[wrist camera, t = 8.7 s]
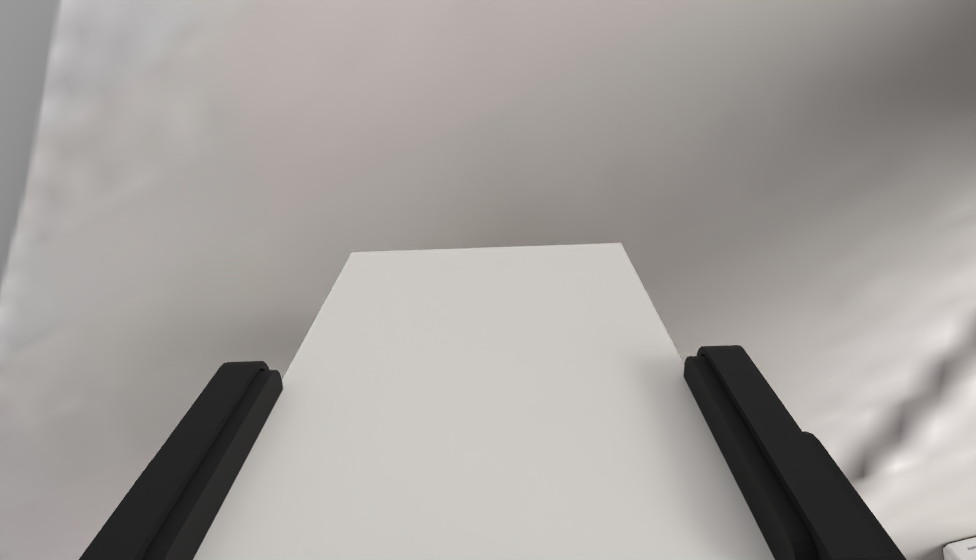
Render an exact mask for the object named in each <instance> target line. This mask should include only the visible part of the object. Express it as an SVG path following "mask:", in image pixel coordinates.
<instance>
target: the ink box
mask: <svg viewBox="0 0 976 560" xmlns="http://www.w3.org/2000/svg"><path fill="white" fill-rule="evenodd" d="M943 554H944V560H976V537H974V538H970V539H966V540H962V541H958V542H954V543H950V544H947V546H946V547H944V548H943Z"/></svg>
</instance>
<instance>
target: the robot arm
mask: <svg viewBox="0 0 976 560" xmlns="http://www.w3.org/2000/svg"><path fill="white" fill-rule="evenodd" d="M683 377H684V379H685V381H686V383H687V385H688V387H689V389H690V391H691V393H692V395H693V397H694V399H695V401H696V403H697V405H698V407H699V409H700V411H701V413H702V415H703V417H704V419H705V421H706V423H707V425H708V427H709V429H710V431H711V433H712V435H713V437H714V439H715V441H716V443H717V445H718V447H719V449H720V451H721V453H722V455H723V457H724V459H725V461H726V463H727V465H728V467H729V469H730V471H731V473H732V475H733V477H734V479H735V481H736V483H737V485H738V487H739V489H740V491H741V493H742V495H743V497H744V499H745V501H746V503H747V505H748V507H749V509H750V511H751V513H752V515H753V517H754V519H755V521H756V523H757V525H758V527H759V529H760V531H761V533H762V535H763V537H764V539H765V541H766V543H767V545H768V547H769V549H770V551H771V553H772V555H773V557H774V559H775V560H906V558H905V557H904V556H903V554H902V553H901V552H900V550H899V549H898V547H897V546H896V545H895V543H894V542H893V541H892V539H891V538H890V537H889V535H888V534H887V532H886V531H885V530H884V528H883V527H882V526H881V524H880V523H879V521H878V520H877V519H876V517H875V516H874V515H873V513H872V512H871V511H870V509H869V508H868V506H867V505H866V504H865V502H864V501H863V500H862V498H861V497H860V496H859V494H858V493H857V491H856V490H855V489H854V487H853V486H852V485H851V483H850V482H849V481H848V479H847V478H846V476H845V475H844V474H843V472H842V471H841V470H840V468H839V467H838V466H837V464H836V463H835V461H834V460H833V459H832V457H831V456H830V455H829V453H828V452H827V451H826V449H825V448H824V446H823V445H822V444H821V442H820V441H819V440H818V439H817V438H816V437H815V436H814V435H813V434H811V433H809V432H802V430H801V429H800V428H799V426H798V425H797V423H796V422H795V421H794V419H793V418H792V416H791V415H790V414H789V412H788V411H787V409H786V408H785V406H784V405H783V404H782V402H781V401H780V399H779V398H778V397H777V395H776V394H775V392H774V391H773V390H772V388H771V387H770V385H769V384H768V383H767V381H766V380H765V378H764V377H763V375H762V374H761V373H760V371H759V370H758V368H757V367H756V366H755V364H754V363H753V361H752V360H751V359H750V357H749V356H748V354H747V353H746V351H745V350H744V349H743V348H742V347H741V346H738V345H733V346H703V347H700V348H699V350H698V353H697V356H691V357H687V358H686V361H685V365H684V375H683ZM282 390H283V384H282V379H281V376H280V374H279V372H278V371H277V370H269V368H268V366H267V364H266V363H265V362H263V361H252V362H227V363H224V364H223V365H222V366H221V367H220V368H219V369H218V371H217V372H216V374H215V375H214V376H213V378H212V379H211V380H210V382H209V383H208V384H207V386H206V387H205V389H204V390H203V391H202V393H201V394H200V395H199V397H198V398H197V400H196V401H195V402H194V404H193V405H192V406H191V408H190V409H189V410H188V412H187V413H186V415H185V416H184V417H183V419H182V420H181V421H180V423H179V424H178V426H177V427H176V428H175V430H174V431H173V432H172V434H171V435H170V437H169V438H168V439H167V441H166V442H165V443H164V445H163V446H162V447H161V449H160V450H159V452H158V453H157V454H156V456H155V457H154V458H153V460H152V461H151V462H150V463H149V464H148V466H147V467H146V469H145V470H144V471H143V473H142V474H141V475H140V477H139V478H138V479H137V481H136V482H135V484H134V485H133V486H132V488H131V489H130V490H129V492H128V493H127V494H126V496H125V497H124V499H123V500H122V501H121V503H120V504H119V505H118V507H117V508H116V510H115V511H114V512H113V514H112V515H111V516H110V518H109V519H108V520H107V522H106V523H105V525H104V526H103V527H102V529H101V530H100V531H99V533H98V534H97V536H96V537H95V538H94V540H93V541H92V542H91V544H90V545H89V546H88V548H87V549H86V551H85V552H84V553H83V555H82V556H81V557H80V559H79V560H193V559H194V557H195V555H196V553H197V551H198V549H199V547H200V546H201V544H202V542H203V540H204V538H205V536H206V534H207V532H208V530H209V528H210V527H211V525H212V523H213V521H214V519H215V517H216V515H217V513H218V511H219V510H220V508H221V506H222V504H223V502H224V500H225V498H226V496H227V494H228V493H229V491H230V489H231V487H232V485H233V483H234V481H235V479H236V477H237V476H238V474H239V472H240V470H241V468H242V466H243V464H244V462H245V460H246V459H247V457H248V455H249V453H250V451H251V449H252V447H253V445H254V443H255V441H256V440H257V438H258V436H259V434H260V432H261V430H262V428H263V426H264V424H265V423H266V421H267V419H268V417H269V415H270V413H271V411H272V409H273V407H274V406H275V404H276V402H277V400H278V398H279V396H280V394H281V392H282Z"/></svg>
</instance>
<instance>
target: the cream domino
mask: <svg viewBox="0 0 976 560" xmlns="http://www.w3.org/2000/svg"><path fill="white" fill-rule="evenodd" d="M683 375H684V363H683V362H682V360H681V358H680V356H679V354H678V352H677V350H676V348H675V346H674V344H673V342H672V340H671V338H670V336H669V335H668V333H667V331H666V329H665V327H664V325H663V323H662V321H661V319H660V317H659V315H658V313H657V311H656V309H655V307H654V306H653V304H652V302H651V300H650V298H649V296H648V294H647V292H646V290H645V288H644V286H643V284H642V282H641V280H640V278H639V277H638V275H637V273H636V271H635V269H634V267H633V265H632V263H631V261H630V259H629V257H628V255H627V253H626V251H625V249H624V248H623V246H622V244H621V243H601V244H572V245H544V246H515V247H487V248H458V249H430V250H401V251H373V252H351V254H350V256H349V258H348V260H347V262H346V263H345V265H344V267H343V269H342V271H341V273H340V274H339V276H338V278H337V280H336V282H335V284H334V285H333V287H332V289H331V291H330V293H329V295H328V296H327V298H326V300H325V302H324V304H323V306H322V307H321V309H320V311H319V313H318V315H317V317H316V318H315V320H314V322H313V324H312V326H311V328H310V329H309V331H308V333H307V335H306V337H305V339H304V340H303V342H302V344H301V346H300V348H299V350H298V351H297V353H296V355H295V357H294V359H293V361H292V362H291V364H290V366H289V368H288V370H287V372H286V373H285V375H284V377H283V379H282V384H283V390H282V392H281V394H280V396H279V398H278V400H277V402H276V404H275V406H274V407H273V409H272V411H271V413H270V415H269V417H268V419H267V421H266V423H265V424H264V426H263V428H262V430H261V432H260V434H259V436H258V438H257V440H256V441H255V443H254V445H253V447H252V449H251V451H250V453H249V455H248V457H247V459H246V460H245V462H244V464H243V466H242V468H241V470H240V472H239V474H238V476H237V477H236V479H235V481H234V483H233V485H232V487H231V489H230V491H229V493H228V494H227V496H226V498H225V500H224V502H223V504H222V506H221V508H220V510H219V511H218V513H217V515H216V517H215V519H214V521H213V523H212V525H211V527H210V528H209V530H208V532H207V534H206V536H205V538H204V540H203V542H202V544H201V546H200V547H199V549H198V551H197V553H196V555H195V557H194V559H193V560H775V559H774V557H773V555H772V553H771V551H770V549H769V547H768V545H767V543H766V541H765V539H764V537H763V535H762V533H761V531H760V529H759V527H758V525H757V523H756V521H755V519H754V517H753V515H752V513H751V511H750V509H749V507H748V505H747V503H746V501H745V499H744V497H743V495H742V493H741V491H740V489H739V487H738V485H737V483H736V481H735V479H734V477H733V475H732V473H731V471H730V469H729V467H728V465H727V463H726V461H725V459H724V457H723V455H722V453H721V451H720V449H719V447H718V445H717V443H716V441H715V439H714V437H713V435H712V433H711V431H710V429H709V427H708V425H707V423H706V421H705V419H704V417H703V415H702V413H701V411H700V409H699V407H698V405H697V403H696V401H695V399H694V397H693V395H692V393H691V391H690V389H689V387H688V385H687V383H686V381H685V379H684V377H683Z"/></svg>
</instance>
